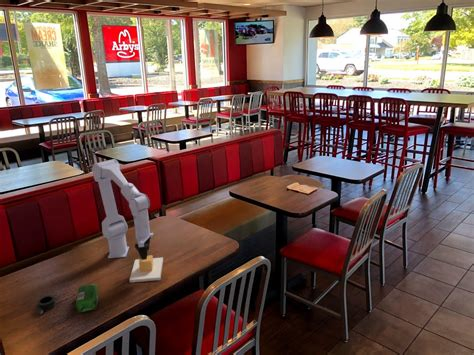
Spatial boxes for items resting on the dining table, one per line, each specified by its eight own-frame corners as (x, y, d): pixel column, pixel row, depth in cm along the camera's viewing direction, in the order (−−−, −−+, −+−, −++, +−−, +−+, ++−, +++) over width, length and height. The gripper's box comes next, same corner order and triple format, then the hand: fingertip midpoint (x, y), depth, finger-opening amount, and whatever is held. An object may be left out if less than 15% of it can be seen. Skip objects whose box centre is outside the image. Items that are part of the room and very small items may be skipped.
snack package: (76, 319, 132) (74, 306, 131) (79, 294, 147) (77, 282, 145) (98, 315, 134) (96, 302, 133) (99, 290, 148) (97, 278, 147)
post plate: (135, 262, 168) (134, 253, 167) (163, 259, 169) (162, 251, 168) (129, 282, 153) (128, 273, 151) (160, 279, 154) (159, 270, 153)
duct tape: (28, 310, 138) (27, 303, 137) (55, 296, 146) (54, 289, 145) (38, 318, 134) (37, 311, 133) (66, 303, 141) (64, 296, 140)
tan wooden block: (141, 265, 163) (140, 256, 161) (153, 264, 163) (152, 255, 162) (140, 271, 158) (138, 262, 157) (152, 270, 158) (151, 261, 157)
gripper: (150, 231, 148) (153, 262, 152) (153, 216, 162) (156, 245, 166) (131, 233, 147) (135, 264, 151) (136, 217, 161) (140, 246, 165)
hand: (145, 254), depth 159 cm, fingers open, 7 cm apart
